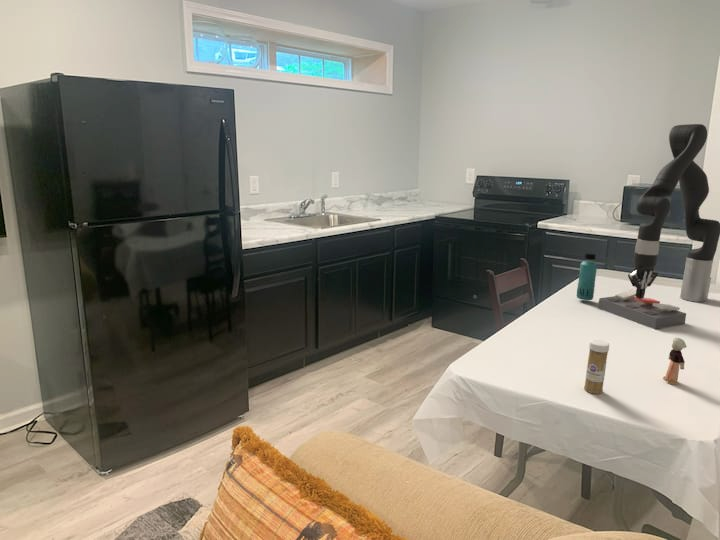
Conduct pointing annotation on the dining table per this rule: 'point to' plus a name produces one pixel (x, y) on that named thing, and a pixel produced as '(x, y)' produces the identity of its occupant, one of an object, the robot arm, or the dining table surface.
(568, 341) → the dining table surface
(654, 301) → the block
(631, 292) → the grey rocker near bottle
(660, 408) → the dining table surface
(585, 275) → the beverage bottle
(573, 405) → the dining table surface
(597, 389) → the sprinkles bottle
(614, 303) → the power strip
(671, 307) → the grey rocker far end
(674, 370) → the grandmother figurine
